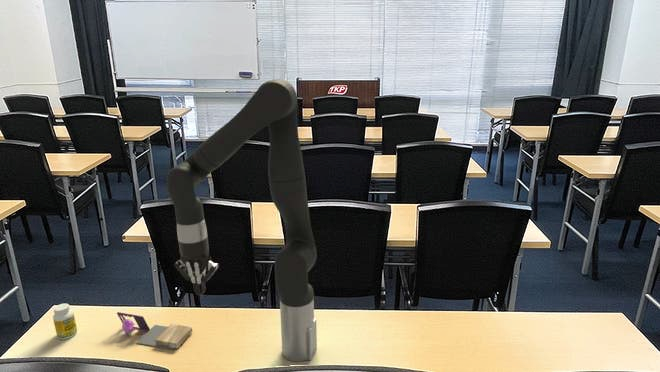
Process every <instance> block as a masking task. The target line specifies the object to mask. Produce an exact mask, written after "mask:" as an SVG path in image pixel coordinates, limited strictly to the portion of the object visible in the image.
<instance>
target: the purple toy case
mask: <svg viewBox="0 0 660 372" xmlns="http://www.w3.org/2000/svg"><path fill="white" fill-rule="evenodd" d="M116 315H117V317H118V318H119V320H120V321H121V323H122V327H121V328H122V330H123V332H124V333H126V334H128V336H129V338H131V337H132V333H133V332H134V331H136V330H142V331H147V332H148V331H149V330H150V329H151V328H150V327H149V325H148V323H147V321H146V319H145V318H144V315H143V316H142V315H137V314H130V313H124V312H123V311H120V312H119V311H118V312H116ZM126 317H128V318H129V319H127V318H126ZM130 318H133V319H134V320H135V322H136V324H137V326H138V327H137V326H134V325H135V323H134V322H133V320H131V319H130ZM135 329H136V330H135Z"/></svg>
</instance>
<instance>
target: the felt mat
mask: <svg viewBox="0 0 660 372" xmlns="http://www.w3.org/2000/svg"><path fill="white" fill-rule="evenodd" d="M168 327H169V326H165V325H159V324H154V325H153V326H152V327H151V328H149V329H150V330H149V331H147V332H146V333H145V334H144V335H142V337H140V338H139V340H137V342H136V344H138V345H142V346H148V347H154V348H159V349H165V350H170V351H173V350H174V349H175V348H172V347H167V346H161V345H156V341H155V340H156V339H157V338H158V337H159V336H160V335H161V334H162V333H163V332H164V331H165V330H166V329H167V328H168Z"/></svg>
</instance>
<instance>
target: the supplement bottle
mask: <svg viewBox="0 0 660 372" xmlns="http://www.w3.org/2000/svg"><path fill="white" fill-rule="evenodd" d="M53 312H54V314H53V316H52V318H53V325H54V329H55V333H56V336H57V339H59V340H68V339H70V338H73V337H75V336H76V335H77V333H78V329H77V328H78V327H77V323H76V318H75V314H74V310H72V309H71V308H70V304H69V303H60V304H58V305H56V306H55V307H54V308H53Z"/></svg>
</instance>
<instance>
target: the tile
mask: <svg viewBox="0 0 660 372" xmlns="http://www.w3.org/2000/svg"><path fill="white" fill-rule="evenodd" d="M167 327H168V328H167V329H166V330H165V331H164V332H163V333H162V334H161V335H160V336H159V337H158V338H157V339H156V340H155V341H156V345H161V346H167V347H172V348H174V349H178V348H179V347H180V346H181V345H182V344H183V343H184V342H185V341H186V339H187V338H189V336H190V335H191V334H192V333H193V327H192V326H187V325H180V324H176V323H175V324H174V323H171V324H169V326H167Z"/></svg>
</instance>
